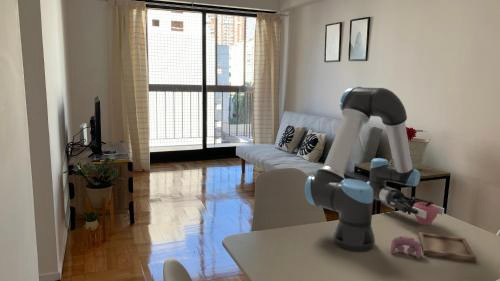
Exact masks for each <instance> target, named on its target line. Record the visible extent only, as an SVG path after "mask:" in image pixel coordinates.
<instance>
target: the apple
mask: <svg viewBox="0 0 500 281" xmlns="http://www.w3.org/2000/svg"><path fill="white" fill-rule="evenodd" d="M431 202H432V201H430V202H429V203H424V202H417V203H415V204H414V206H413V207H416V208H418V209H421V210H423V211H426V212H427V213H426V218H422V217H420V216H417V215H415V214H413V215H414V217H415V218H416V220H417V222H418V223H419V224H420V225H426V226H427V225H431V224H432V223H433V221H434V220H435V219H437V217H438V215H439V214H438V209H437V207H436V206H437V205H436V206H434V205H435V204H433V205H432V203H431Z"/></svg>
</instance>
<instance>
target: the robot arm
mask: <svg viewBox="0 0 500 281" xmlns="http://www.w3.org/2000/svg"><path fill="white" fill-rule="evenodd" d="M339 107H340V110H341V116H343V117H342V120H341V123H340V125H339V127H338V129H337V132H336V135H335V138H334V139H333V141H332V145H331V147H330V149H329V151H328V155H327V157H326V159H325V161H324V164H323V166H322V167H319V168H318V169H317V171H316V173H315V174H311V175H310V176H308V177H307V179H306V181H305V185H304V194H305V195H304V197H305V199H306V200H307V202H308V203H310V204H311V205H314V206H316V207H318V208H322V209H327V210H330V211H332V212H337V213H338V222H337V225H336V228H335V229H334V233H333V235H332V242H333V244H334V245H335V246H337V247H338V248H341V249H342V250H345V251H350V252H356V253H360V252H361V253H363V252H369V251H372V250H373V249H374V248H375V245H376V244H375V242H376V240H375V235H374V234H375V233H374V231H373V227H372V221H373V220H372V218H373V206H374V201H375V200H377V201H379V202H382V203H385V205H389V206H391V207H393V208H396V209H397V210H399V211H400V212H402V213H403V214H406V213H407V215H411V214H413V215H414V214H415V215H417V216H420V217H422V218H426V213H427V212H426V211H423V210H421V209H418V208H416V207H413V206H414V204H415V203H417V202H424V203H429V202H431V203H432V205H434V206H436V207H437V209H438V214H437V215H441V216H444V214H445V208H444V207H442V206H438V205H436V204H434V202H433V201H431V200H430V201H429V200H426V199H423V198H418V197H416V196H411V197H409V196H405V195H404V193H403V192H402V191H400V190H399V189H395V188H392V187H389V186H387V185H386V184H387V182H390V183H391V182H392V183H396V184H400V185H404V186H409V187H410V186H411V187H416V186H417V185H418V184H419V182H420V181H421V172H420V171H419V170H418V169H415V168H413V163H412V156H411V152H410V151H411V150H410V144H409V138H408V134H407V133H408V131H407V126H406V121H407V119H408V116H407V110H406V108H405V106H404V104H403V102H402V100H401V99H400V97H399V96H398V95H397V94H396V93H394V92H393V91H392V90H390V89H388V88H385V87H362V86H352V87H348V88H347V89H346V90H345V91H344V92H343V93H342V94H341V97H340V104H339ZM371 117H378V118H380V119H381V121H382V124H383V125H384V126H385V129H386V133H387V137H388V142H389V147H390V153H391V158H392V162H393V165H392V164H389V162H388V160H387V159H385V158H380V157H377V158H376V157H375V158H372V160H371V162H370V169H369V181H367V182H365V181H363V180H360V179H356V178H355V179H353V178H345V176H344V175H345V172H346V170H347V167H348V165H349V162H350V160H351V157H352V155H353V152H354V149H355V147H356V145H357V142H358V139H359V136H360V135H361V131H362V129H363V126H364V125H366V124H368V123H369V121H370V119H371ZM415 215H414V216H415Z"/></svg>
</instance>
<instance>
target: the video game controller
mask: <svg viewBox="0 0 500 281" xmlns="http://www.w3.org/2000/svg"><path fill="white" fill-rule="evenodd" d="M390 243H391V244H390V254H391V255H394V254H395V253H396V250H397V252H399V253H404V252H405V247H404V246H407V250H406V252H407V254H409V255H413V254H414V253H415V256H416V259H418V260H420V258H421V257H422V256H421V255H422V248H421V244H420V241H418V240H417V239H415V238H412V237H409V236H396V237H394V238H393V239H392V240H391V242H390Z"/></svg>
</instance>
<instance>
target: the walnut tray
mask: <svg viewBox="0 0 500 281" xmlns="http://www.w3.org/2000/svg"><path fill="white" fill-rule="evenodd" d="M418 240H419V243H420V244H421V252H422V254H423V256H424V257H425V256H427V257H432V258H439V259H447V260H454V261H458V262H459V261H460V262H467V263H474V264H476V258H477V257H476V256H475V254H474V251H473V250H472V248H471V247H470V246H471V245H469V243H468V242H467V239H466V238H465V237H460V236H459V237H457V236H452V235H451V236H450V235H442V234H434V233H427V232H418Z"/></svg>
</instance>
